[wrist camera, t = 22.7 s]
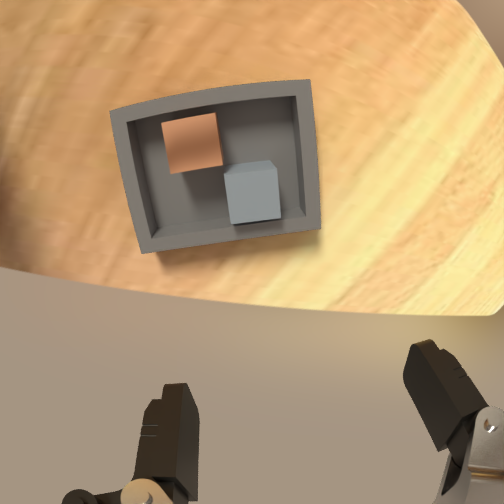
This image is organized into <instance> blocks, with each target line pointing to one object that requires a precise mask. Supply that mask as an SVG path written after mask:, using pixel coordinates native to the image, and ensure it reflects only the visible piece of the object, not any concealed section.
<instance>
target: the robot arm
mask: <svg viewBox="0 0 504 504" xmlns="http://www.w3.org/2000/svg"><path fill="white" fill-rule="evenodd" d="M403 380H404V384H405V387H406V388H407V390H408V392H409V394H410V396H411V398H412V400H413V402H414V404H415V406H416V408H417V410H418V412H419V414H420V416H421V418H422V420H423V421H424V424H425V426H426V428H427V430H428V432H429V434H430V436H431V438H432V440H433V442H434V444H435V446H436V448H437V451H438V452H439V451H442V450H444V449H446V448H448V449H449V451H450V454H449V456H448V459H447V463H446V466H445V470H444V474H443V477H442V481H441V484H440V487H439V490H438V493H437V496H436V499H435V501H434V502H433V504H504V411H503V410H502V409H500V408H497V407H493V406H491V407H490V406H489V405H488V404H487V403H486V402H485V400H484V398H483V397H482V395H481V394H480V393H479V391H478V389H477V388H476V387H475V385H474V384H473V382H472V380H471V379H470V378H469V376H467V374H466V372H465V370H464V369H463V368H462V367H461V365H460V363H459V362H458V361H457V359H456V358H455V357H454V356H453V355H452V354H451V353H449V352H448V351H446V350H445V349H442V350H439V348H438V347H437V345H436V344H435V343H434V341H433V340H431V339H428V340H425V341H422V342H418V343H415V344H412V345H411V347H410V350H409V354H408V357H407V361H406V364H405V367H404V371H403ZM142 424H143V426H142V428H141V437H140V440H139V446H138V452H137V458H136V465H135V472H134V476H133V478H132V480H131V482H129V483H128V484H127V485H126V486H125V487H124V488H123V489H121V490H119V491H115V492H110V493H105V494H99V495H92V494H91V493H89V492H88V491H85V490H82V489H77V490H73V491H70V492H69V493H68V494H66V495H65V497H64V499H63V501H62V504H188V501H198V454H199V424H200V421H199V413H198V409H197V406H196V404H195V401H194V399H193V396H192V394H191V392H190V389H189V387H188V385H187V383H177V384H165V385H164V387H163V393H162V399H153V400H152V401H151V402H150V404H149V405H148V407H147V408H146V410H145V412H144V417H143V423H142Z"/></svg>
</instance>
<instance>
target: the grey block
mask: <svg viewBox="0 0 504 504" xmlns="http://www.w3.org/2000/svg"><path fill="white" fill-rule="evenodd" d="M224 179H225V186H226V194H227V201H228V208H229V215H230V222H231V224H238V223H245V222H253V221H261V220H269V219H277V218H281V211H280V199H279V187H278V175H277V168H276V167H275V166H274V164H273V163H272V162H271V161H270V160H268V161H258V162H250V163H242V164H234V165H226V166H224Z"/></svg>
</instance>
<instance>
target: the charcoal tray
mask: <svg viewBox="0 0 504 504" xmlns="http://www.w3.org/2000/svg"><path fill="white" fill-rule="evenodd" d="M216 112H217V117H218V123H219V130H220V137H221V143H222V150H223V157H224V158H223V165H220V166H214V167H208V168H202V169H196V170H190V171H185V172H179V173H174V174H171V173H170V168H169V163H168V158H167V153H166V147H165V142H164V136H163V130H162V124H161V123H163V122H168V121H172V120H177V119H182V118H187V117H193V116H198V115H204V114H210V113H216ZM110 118H111V123H112V129H113V135H114V140H115V145H116V151H117V156H118V161H119V165H120V170H121V175H122V179H123V184H124V188H125V192H126V197H127V201H128V205H129V209H130V213H131V217H132V221H133V225H134V228H135V232H136V236H137V239H138V243H139V247H140V250H141V254H145V253H152V252H159V251H165V250H172V249H179V248H186V247H193V246H200V245H206V244H213V243H220V242H228V241H235V240H242V239H249V238H256V237H263V236H271V235H278V234H285V233H293V232H300V231H308V230H315V229H321V213H320V192H319V174H318V158H317V145H316V132H315V121H314V110H313V100H312V91H311V82H310V79H306V80H287V81H273V82H261V83H251V84H242V85H234V86H226V87H219V88H212V89H206V90H200V91H194V92H189V93H183V94H178V95H173V96H168V97H163V98H159V99H154V100H150V101H146V102H141V103H137V104H133V105H130V106H126V107H122V108H118V109H115V110H111V111H110ZM268 160H270V161H271V162H272V163H273V164H274V166H275V167H276V168H277V175H278V187H279V199H280V211H281V218H277V219H269V220H261V221H253V222H245V223H238V224H231V222H230V215H229V208H228V201H227V194H226V186H225V179H224V166H226V165H234V164H242V163H250V162H258V161H268Z"/></svg>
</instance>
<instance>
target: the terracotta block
mask: <svg viewBox="0 0 504 504" xmlns="http://www.w3.org/2000/svg"><path fill="white" fill-rule="evenodd" d="M161 124H162V130H163V136H164V142H165V147H166V153H167V158H168V163H169V168H170V173H171V174H174V173H179V172H185V171H190V170H196V169H202V168H208V167H214V166H220V165H223V158H224V157H223V150H222V143H221V137H220V130H219V123H218V117H217V112H216V113H210V114H204V115H198V116H193V117H187V118H182V119H177V120H172V121H168V122H163V123H161Z"/></svg>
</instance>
